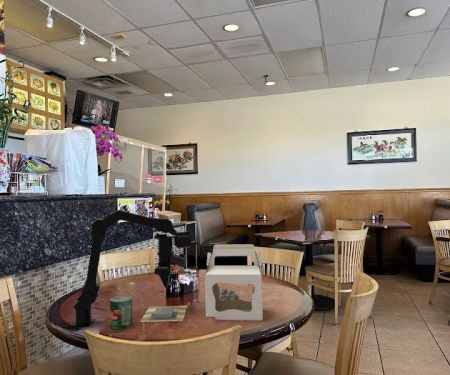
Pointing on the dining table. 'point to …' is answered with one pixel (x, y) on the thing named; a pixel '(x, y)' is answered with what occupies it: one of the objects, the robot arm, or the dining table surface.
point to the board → (177, 316)
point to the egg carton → (227, 295)
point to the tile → (163, 312)
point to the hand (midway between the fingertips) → (166, 287)
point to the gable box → (233, 276)
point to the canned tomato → (121, 312)
